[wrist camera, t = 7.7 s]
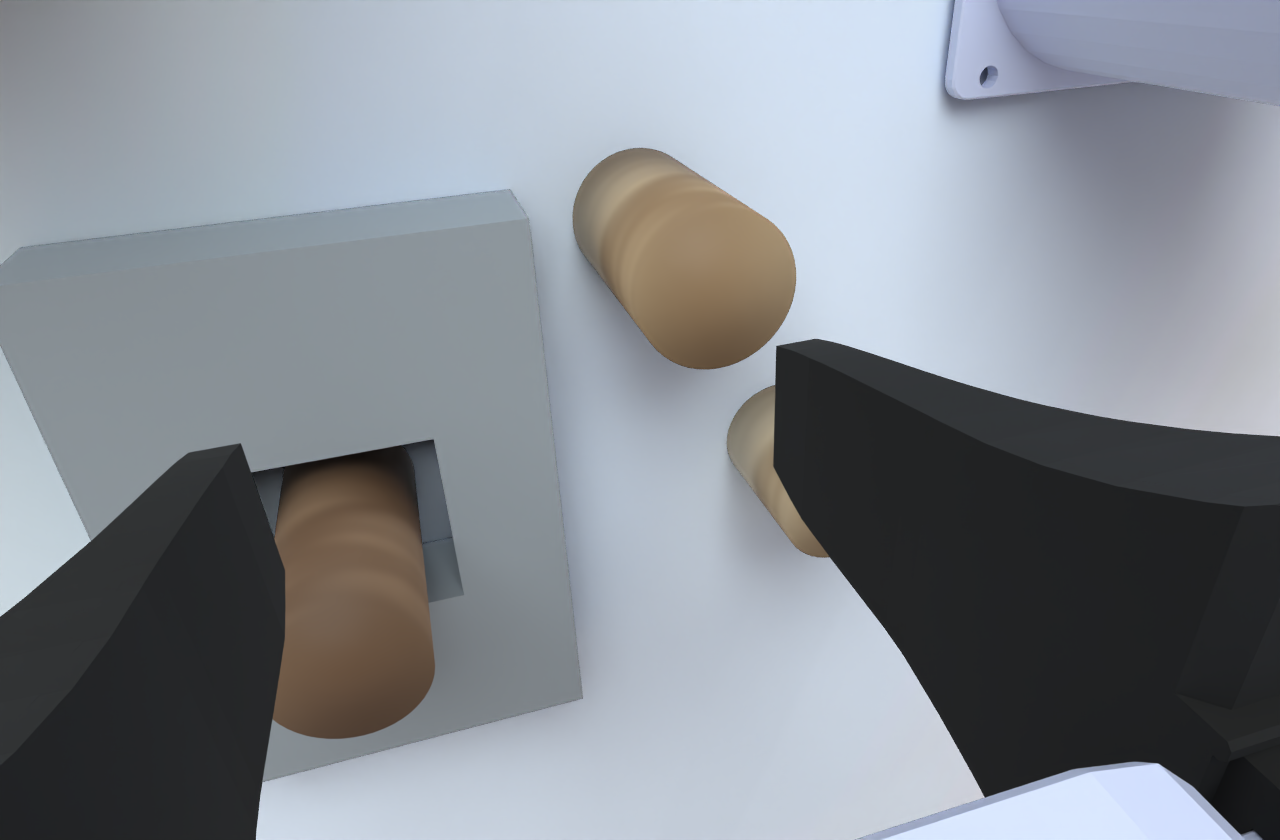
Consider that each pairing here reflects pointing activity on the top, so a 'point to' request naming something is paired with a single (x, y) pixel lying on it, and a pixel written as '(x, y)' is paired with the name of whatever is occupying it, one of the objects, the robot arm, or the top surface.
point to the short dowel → (766, 467)
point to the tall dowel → (352, 595)
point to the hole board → (327, 406)
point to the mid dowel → (684, 258)
